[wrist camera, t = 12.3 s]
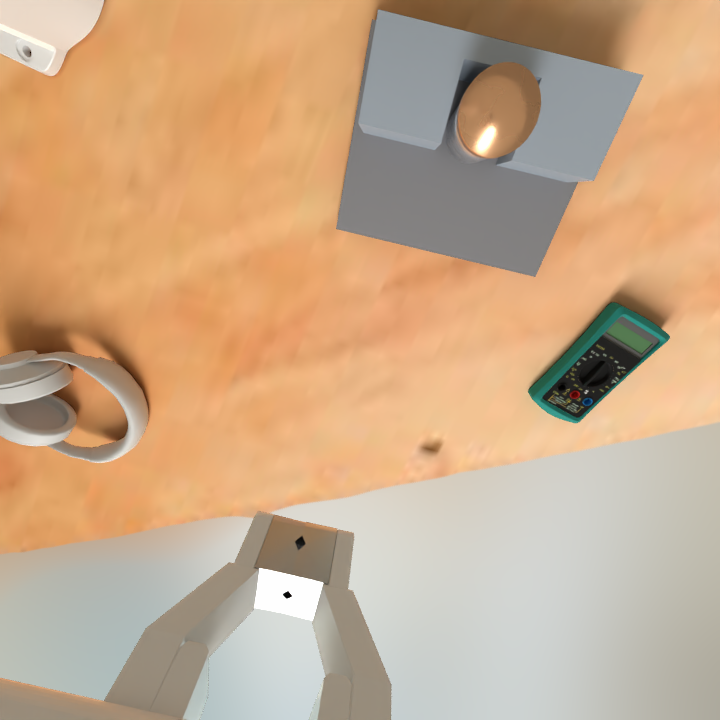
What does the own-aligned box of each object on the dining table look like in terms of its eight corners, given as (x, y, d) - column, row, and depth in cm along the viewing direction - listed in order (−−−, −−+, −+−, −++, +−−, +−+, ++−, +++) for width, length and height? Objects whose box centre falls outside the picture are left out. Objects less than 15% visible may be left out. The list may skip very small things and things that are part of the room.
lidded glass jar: (435, 158, 32) (448, 147, 25) (454, 89, 30) (475, 52, 22) (490, 172, 33) (520, 165, 25) (513, 104, 30) (555, 72, 22)
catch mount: (338, 227, 38) (327, 233, 32) (373, 27, 30) (367, -13, 24) (530, 273, 38) (554, 288, 32) (613, 86, 30) (664, 61, 24)
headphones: (24, 422, 55) (155, 448, 58) (-22, 457, 48) (130, 484, 52) (7, 320, 47) (161, 358, 50) (-51, 346, 40) (132, 387, 43)
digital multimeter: (522, 392, 45) (530, 405, 42) (610, 297, 39) (626, 305, 36) (566, 416, 46) (576, 430, 43) (659, 328, 40) (677, 337, 37)
